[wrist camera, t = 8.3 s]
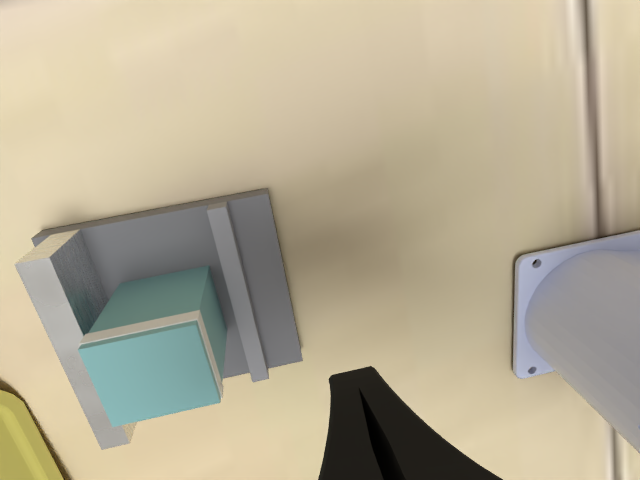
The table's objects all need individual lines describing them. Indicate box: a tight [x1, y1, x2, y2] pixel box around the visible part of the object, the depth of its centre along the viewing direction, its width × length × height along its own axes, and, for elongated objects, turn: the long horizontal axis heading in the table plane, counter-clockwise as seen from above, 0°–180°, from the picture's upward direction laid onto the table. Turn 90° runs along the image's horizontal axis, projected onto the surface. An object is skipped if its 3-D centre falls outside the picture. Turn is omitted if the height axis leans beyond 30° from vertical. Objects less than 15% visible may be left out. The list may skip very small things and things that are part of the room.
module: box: [78, 265, 227, 427], centre depth 18 cm, size 4×4×5 cm
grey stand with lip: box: [31, 188, 303, 382], centre depth 20 cm, size 10×9×2 cm
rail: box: [15, 229, 137, 450], centre depth 18 cm, size 1×9×3 cm, turn 8°
